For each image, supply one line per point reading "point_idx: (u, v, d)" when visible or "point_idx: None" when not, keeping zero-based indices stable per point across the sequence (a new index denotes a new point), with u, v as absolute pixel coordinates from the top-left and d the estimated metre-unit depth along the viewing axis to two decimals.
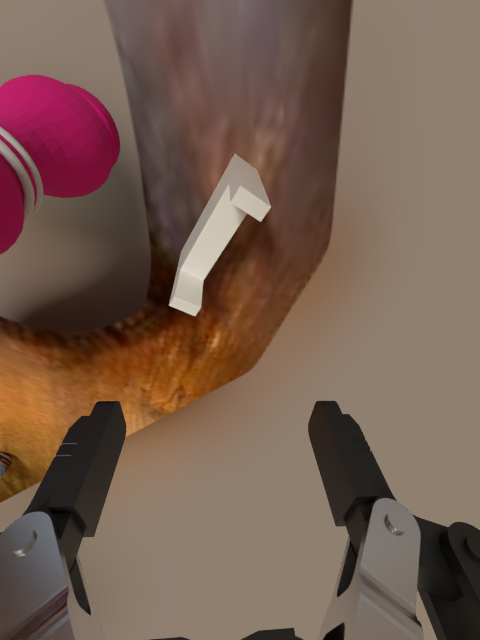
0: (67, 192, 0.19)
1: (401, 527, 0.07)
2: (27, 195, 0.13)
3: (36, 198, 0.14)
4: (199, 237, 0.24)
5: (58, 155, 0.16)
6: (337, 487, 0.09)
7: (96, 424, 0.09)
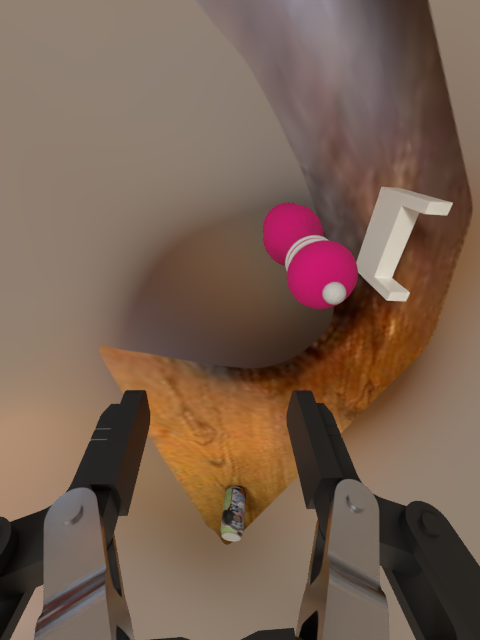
0: None
1: (361, 505, 0.07)
2: None
3: None
4: (385, 249, 0.34)
5: None
6: (307, 471, 0.09)
7: (127, 411, 0.10)
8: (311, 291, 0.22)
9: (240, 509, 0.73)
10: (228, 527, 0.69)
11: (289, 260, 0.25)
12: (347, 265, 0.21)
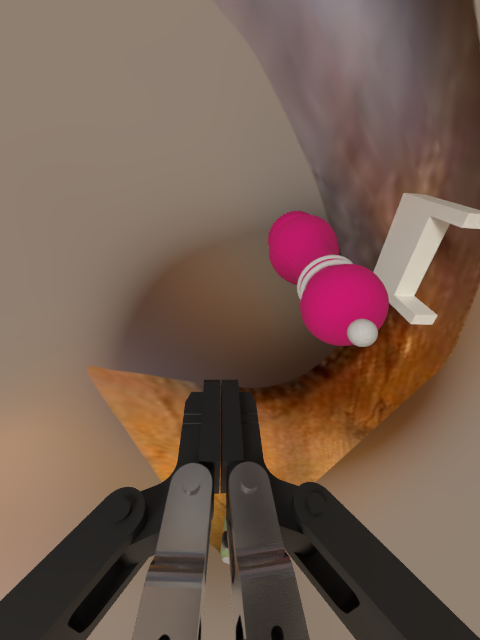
0: None
1: (253, 483, 0.08)
2: None
3: None
4: (408, 264, 0.29)
5: None
6: (221, 456, 0.10)
7: (211, 398, 0.10)
8: (332, 328, 0.18)
9: None
10: None
11: (302, 285, 0.21)
12: (378, 297, 0.17)
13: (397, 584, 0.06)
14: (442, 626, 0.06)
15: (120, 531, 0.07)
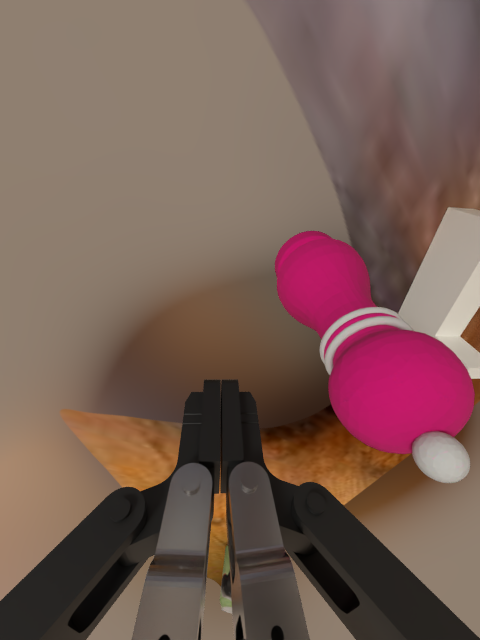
0: None
1: (253, 483, 0.08)
2: None
3: None
4: (457, 300, 0.23)
5: (371, 299, 0.18)
6: (221, 456, 0.10)
7: (211, 398, 0.10)
8: (386, 439, 0.11)
9: None
10: (228, 599, 0.58)
11: (330, 350, 0.15)
12: (464, 396, 0.10)
13: (397, 584, 0.06)
14: (442, 626, 0.06)
15: (120, 531, 0.07)
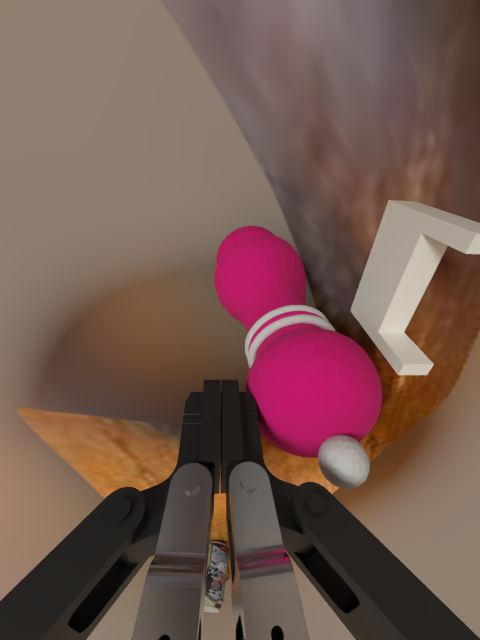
0: None
1: (254, 483, 0.08)
2: None
3: None
4: (395, 295, 0.22)
5: (301, 295, 0.18)
6: (221, 456, 0.10)
7: (212, 397, 0.10)
8: (294, 446, 0.11)
9: (220, 572, 0.62)
10: None
11: (250, 352, 0.14)
12: (366, 396, 0.10)
13: (397, 584, 0.06)
14: (442, 626, 0.06)
15: (120, 531, 0.07)
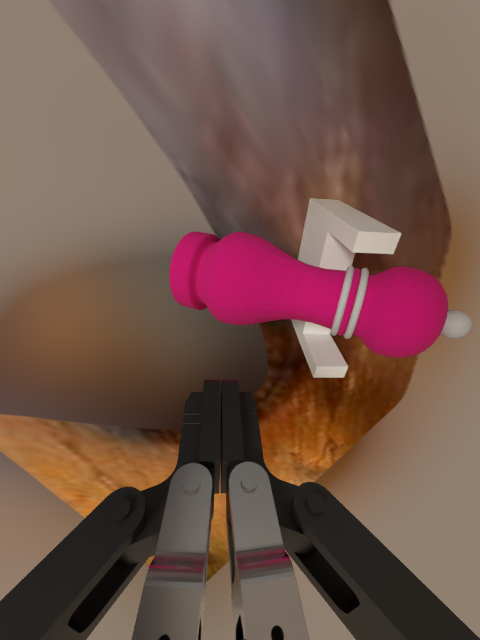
0: None
1: (253, 483, 0.08)
2: None
3: None
4: None
5: None
6: (221, 456, 0.10)
7: (211, 398, 0.10)
8: None
9: None
10: None
11: (356, 317, 0.17)
12: None
13: (397, 584, 0.06)
14: (442, 626, 0.06)
15: (120, 531, 0.07)
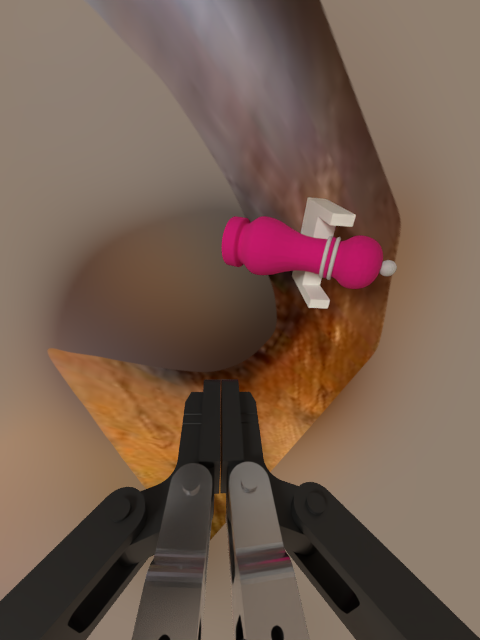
0: None
1: (253, 483, 0.08)
2: None
3: None
4: None
5: None
6: (221, 456, 0.10)
7: (212, 398, 0.10)
8: (377, 274, 0.29)
9: None
10: None
11: (333, 263, 0.29)
12: None
13: (397, 584, 0.06)
14: (442, 626, 0.06)
15: (120, 531, 0.07)
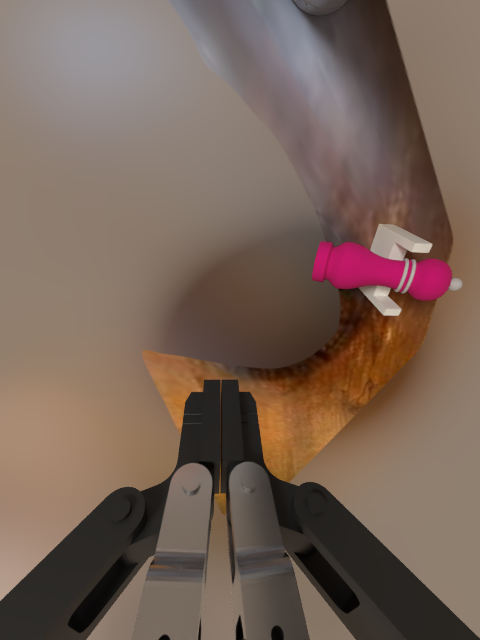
0: None
1: (253, 483, 0.08)
2: None
3: None
4: None
5: None
6: (221, 456, 0.10)
7: (211, 398, 0.10)
8: None
9: None
10: None
11: (411, 281, 0.37)
12: None
13: (397, 585, 0.06)
14: (442, 626, 0.06)
15: (120, 531, 0.07)
